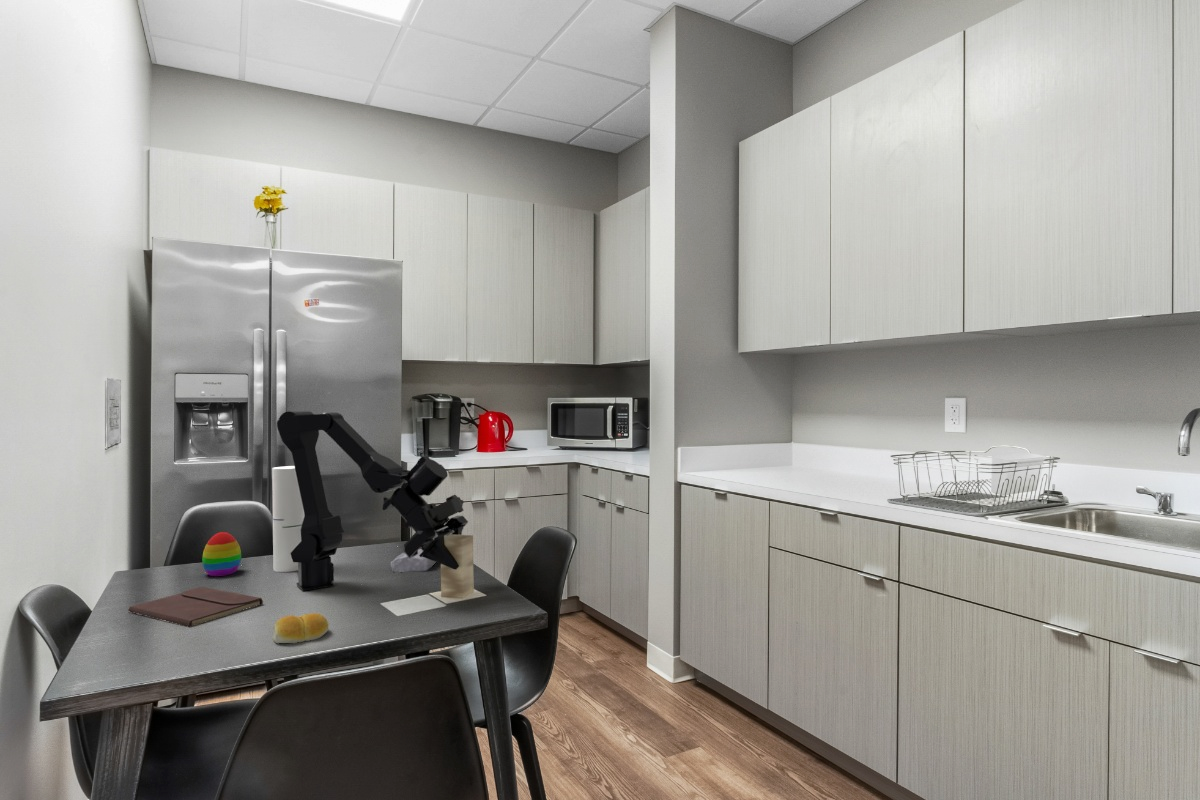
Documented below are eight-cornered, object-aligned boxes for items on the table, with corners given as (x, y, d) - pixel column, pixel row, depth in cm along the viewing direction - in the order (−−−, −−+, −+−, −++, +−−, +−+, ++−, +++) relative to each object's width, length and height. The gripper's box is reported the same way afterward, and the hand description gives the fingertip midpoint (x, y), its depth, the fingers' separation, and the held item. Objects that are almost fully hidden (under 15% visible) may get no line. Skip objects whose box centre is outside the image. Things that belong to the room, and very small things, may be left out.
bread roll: (332, 638, 117) (332, 615, 117) (276, 649, 112) (276, 625, 112) (323, 625, 124) (322, 603, 124) (269, 634, 119) (269, 612, 119)
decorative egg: (220, 568, 166) (219, 528, 166) (249, 570, 165) (248, 529, 165) (194, 577, 158) (193, 535, 158) (224, 578, 157) (223, 536, 157)
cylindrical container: (284, 564, 170) (283, 465, 170) (311, 565, 169) (309, 466, 169) (267, 571, 163) (265, 468, 163) (294, 572, 162) (293, 469, 162)
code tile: (446, 605, 134) (446, 603, 134) (428, 594, 142) (428, 593, 142) (486, 596, 140) (486, 595, 140) (468, 587, 147) (468, 585, 147)
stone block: (389, 581, 160) (429, 572, 160) (385, 561, 160) (425, 552, 160) (404, 570, 172) (442, 562, 172) (400, 551, 172) (438, 543, 172)
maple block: (441, 597, 139) (440, 539, 139) (452, 590, 144) (451, 534, 144) (463, 598, 138) (462, 540, 138) (473, 591, 143) (473, 535, 143)
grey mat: (397, 617, 127) (397, 616, 127) (380, 604, 135) (380, 603, 135) (446, 607, 133) (446, 605, 133) (427, 595, 141) (427, 594, 141)
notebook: (188, 629, 123) (188, 618, 123) (128, 615, 132) (128, 604, 132) (262, 606, 136) (262, 596, 136) (203, 594, 145) (203, 585, 145)
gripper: (416, 490, 133) (468, 548, 130) (459, 479, 151) (505, 530, 148) (381, 528, 135) (431, 586, 132) (428, 513, 153) (473, 563, 150)
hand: (463, 564), depth 140 cm, fingers closed on maple block, 5 cm apart
